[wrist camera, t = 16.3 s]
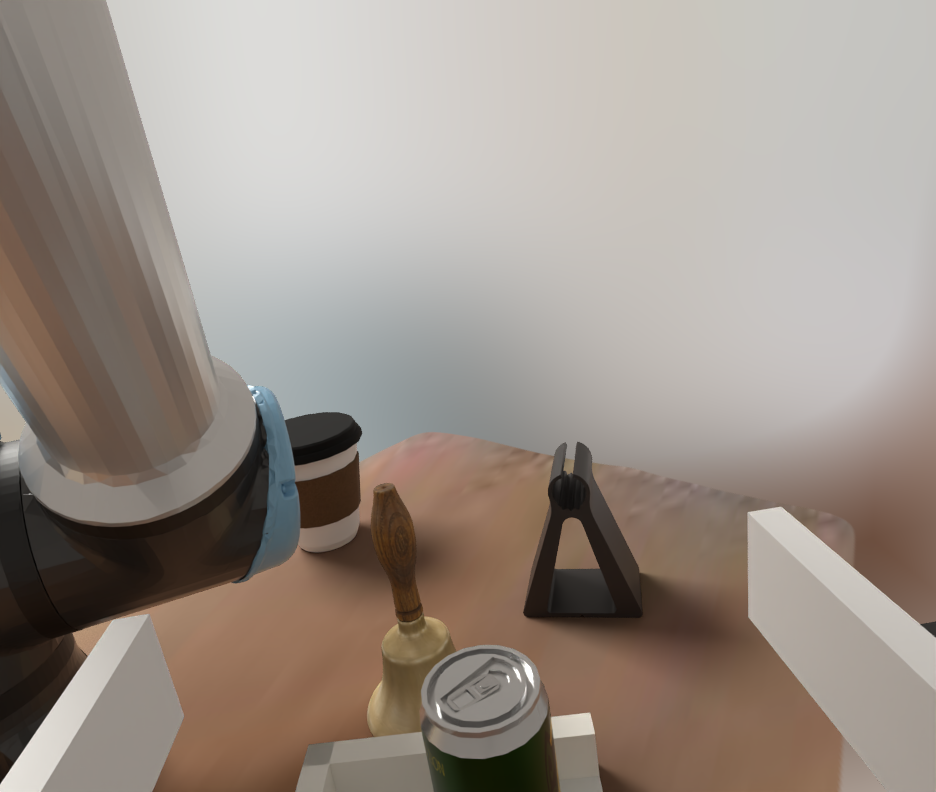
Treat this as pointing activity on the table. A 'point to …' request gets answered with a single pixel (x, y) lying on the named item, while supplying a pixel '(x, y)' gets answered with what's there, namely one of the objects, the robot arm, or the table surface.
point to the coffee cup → (326, 478)
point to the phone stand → (618, 573)
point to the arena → (407, 771)
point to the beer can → (488, 723)
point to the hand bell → (402, 623)
